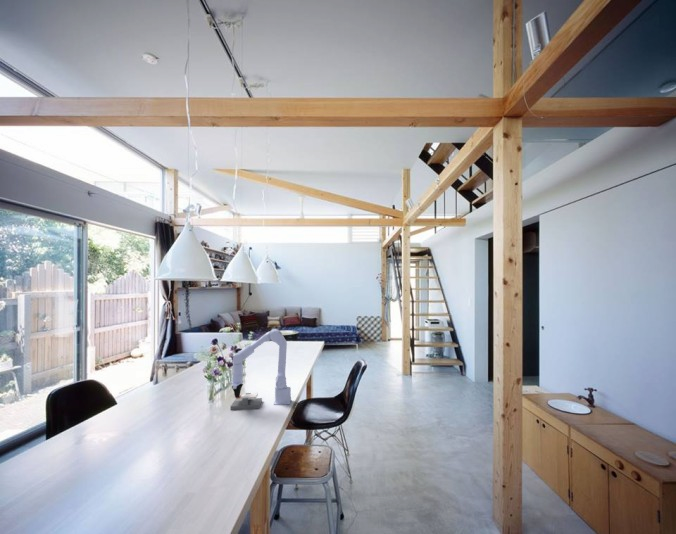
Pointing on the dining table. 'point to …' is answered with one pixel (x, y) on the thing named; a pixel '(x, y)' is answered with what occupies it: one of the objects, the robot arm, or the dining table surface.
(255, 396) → the block
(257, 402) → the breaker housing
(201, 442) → the dining table surface
